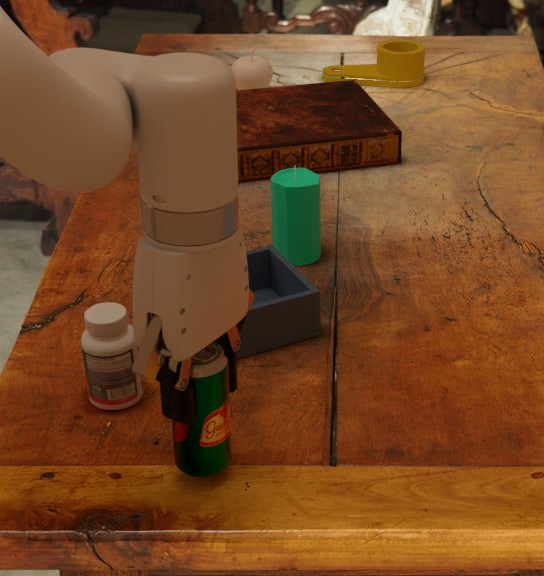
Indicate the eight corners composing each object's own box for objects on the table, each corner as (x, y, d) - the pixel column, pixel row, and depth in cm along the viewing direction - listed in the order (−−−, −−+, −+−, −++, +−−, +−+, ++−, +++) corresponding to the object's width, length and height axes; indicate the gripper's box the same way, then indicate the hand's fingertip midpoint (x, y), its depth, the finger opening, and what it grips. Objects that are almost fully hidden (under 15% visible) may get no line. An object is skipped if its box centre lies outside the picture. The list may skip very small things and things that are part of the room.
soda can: (212, 488, 93) (206, 374, 87) (163, 471, 95) (155, 358, 89) (242, 456, 97) (239, 345, 92) (195, 439, 99) (189, 329, 93)
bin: (217, 364, 112) (214, 319, 109) (176, 311, 121) (172, 268, 118) (320, 335, 117) (320, 290, 115) (273, 286, 126) (272, 244, 124)
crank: (422, 72, 195) (423, 39, 192) (424, 87, 188) (426, 54, 185) (323, 71, 194) (323, 38, 191) (321, 86, 187) (321, 53, 184)
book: (201, 186, 150) (199, 153, 148) (175, 125, 170) (172, 95, 167) (401, 163, 159) (402, 132, 156) (354, 108, 178) (354, 79, 176)
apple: (268, 102, 180) (266, 55, 176) (227, 99, 181) (224, 52, 177) (278, 88, 186) (276, 43, 182) (238, 85, 187) (236, 40, 183)
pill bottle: (101, 378, 110) (89, 295, 105) (151, 383, 109) (142, 300, 104) (80, 409, 105) (67, 324, 100) (133, 415, 104) (122, 329, 99)
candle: (293, 270, 130) (290, 180, 124) (263, 253, 134) (259, 164, 128) (331, 255, 133) (330, 166, 127) (300, 238, 137) (299, 151, 131)
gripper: (219, 167, 92) (225, 345, 101) (77, 242, 79) (98, 439, 88) (291, 188, 89) (291, 370, 98) (156, 270, 76) (170, 471, 85)
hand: (200, 401), depth 93 cm, fingers closed on soda can, 5 cm apart
